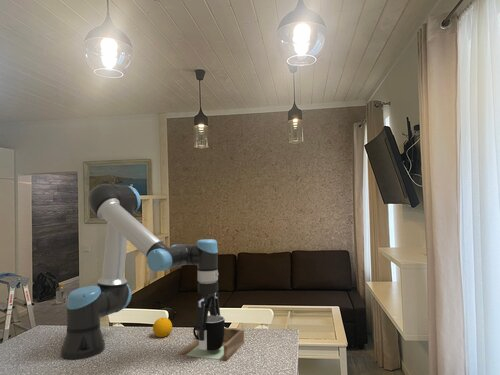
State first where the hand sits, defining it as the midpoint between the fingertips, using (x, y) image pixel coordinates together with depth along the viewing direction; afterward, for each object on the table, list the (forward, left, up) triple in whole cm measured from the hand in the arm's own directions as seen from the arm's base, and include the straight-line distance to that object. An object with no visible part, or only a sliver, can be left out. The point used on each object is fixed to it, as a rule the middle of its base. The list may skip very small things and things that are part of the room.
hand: (208, 344), depth 127 cm
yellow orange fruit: (-28, +12, -4) cm, 31 cm away
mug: (0, 0, -1) cm, 1 cm away
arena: (0, +3, -4) cm, 5 cm away
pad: (0, 0, -3) cm, 3 cm away
